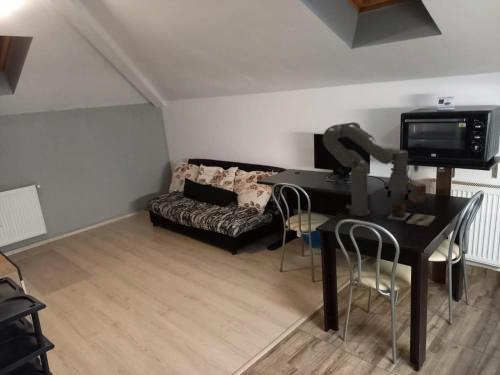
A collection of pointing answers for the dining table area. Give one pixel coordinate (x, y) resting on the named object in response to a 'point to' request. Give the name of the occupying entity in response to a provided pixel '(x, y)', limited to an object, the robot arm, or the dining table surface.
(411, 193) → the stack of blocks
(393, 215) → the walnut block
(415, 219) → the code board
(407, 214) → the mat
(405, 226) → the dining table surface
